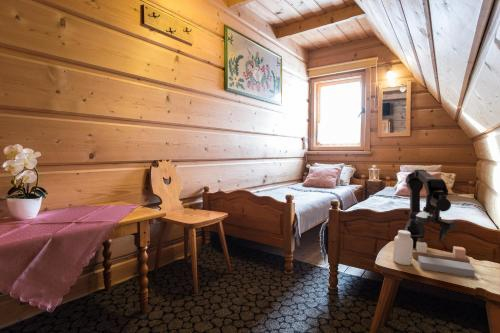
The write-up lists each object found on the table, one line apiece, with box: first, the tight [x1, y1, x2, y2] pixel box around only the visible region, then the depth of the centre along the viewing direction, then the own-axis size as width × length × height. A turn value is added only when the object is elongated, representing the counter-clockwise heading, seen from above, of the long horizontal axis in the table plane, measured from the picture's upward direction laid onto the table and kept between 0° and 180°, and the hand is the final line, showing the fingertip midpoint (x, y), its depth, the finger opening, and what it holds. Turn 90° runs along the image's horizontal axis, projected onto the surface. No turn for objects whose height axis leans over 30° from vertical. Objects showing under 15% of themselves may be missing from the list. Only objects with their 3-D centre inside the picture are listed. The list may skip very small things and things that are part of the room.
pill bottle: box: [392, 229, 413, 266], centre depth 135 cm, size 8×8×15 cm
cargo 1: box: [416, 241, 428, 253], centre depth 141 cm, size 4×4×4 cm
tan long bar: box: [412, 248, 471, 265], centre depth 139 cm, size 6×23×4 cm, turn 67°
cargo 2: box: [452, 245, 467, 259], centre depth 135 cm, size 4×4×4 cm
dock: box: [417, 256, 475, 278], centre depth 129 cm, size 8×20×3 cm, turn 67°
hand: (430, 238), depth 132 cm, fingers open, 9 cm apart
